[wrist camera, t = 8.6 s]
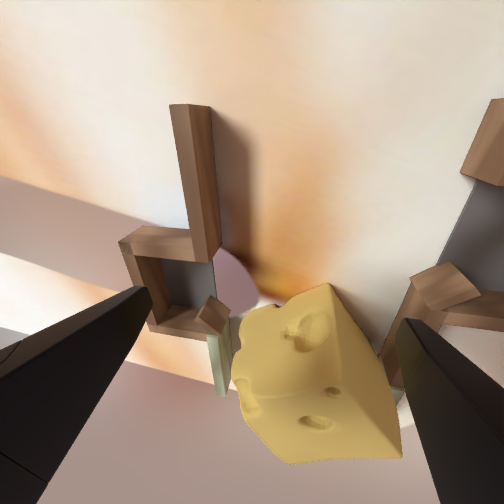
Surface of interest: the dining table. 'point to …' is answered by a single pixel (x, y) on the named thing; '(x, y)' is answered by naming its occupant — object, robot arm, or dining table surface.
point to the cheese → (314, 382)
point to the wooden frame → (423, 284)
